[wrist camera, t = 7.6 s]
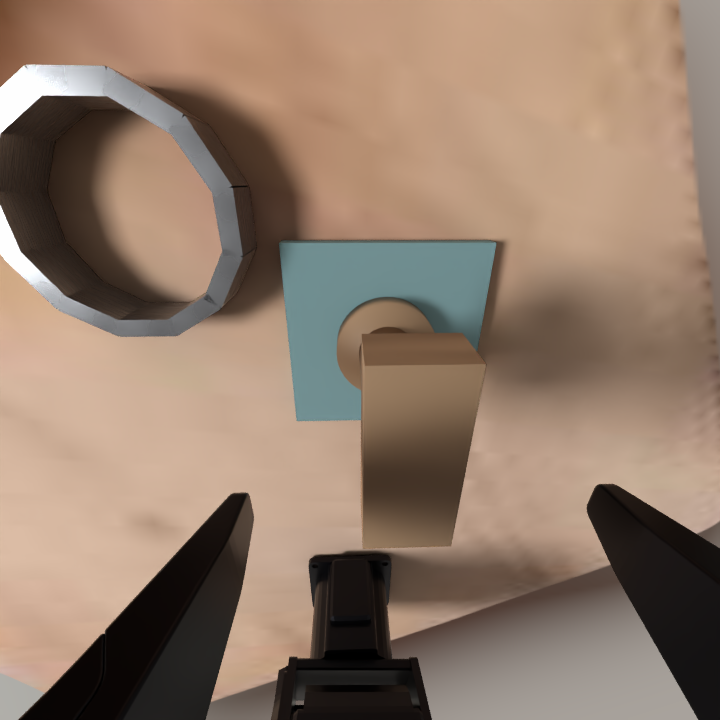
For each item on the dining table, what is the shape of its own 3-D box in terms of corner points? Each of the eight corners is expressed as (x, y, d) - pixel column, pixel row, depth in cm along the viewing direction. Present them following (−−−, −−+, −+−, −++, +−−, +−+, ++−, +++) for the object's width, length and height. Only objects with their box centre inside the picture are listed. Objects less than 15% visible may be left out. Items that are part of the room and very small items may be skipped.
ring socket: (266, 316, 18) (254, 335, 16) (78, 318, 18) (39, 337, 15) (236, 86, 14) (214, 67, 11) (-15, 83, 13) (-88, 62, 11)
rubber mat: (461, 410, 21) (465, 418, 20) (298, 412, 21) (296, 421, 20) (490, 240, 17) (496, 242, 16) (281, 240, 16) (278, 243, 15)
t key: (335, 276, 16) (323, 366, 8) (439, 276, 16) (526, 363, 8) (338, 399, 19) (332, 549, 11) (425, 398, 20) (480, 545, 12)
